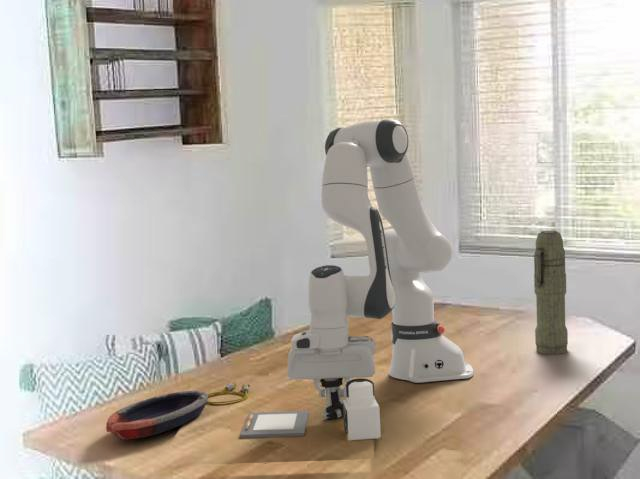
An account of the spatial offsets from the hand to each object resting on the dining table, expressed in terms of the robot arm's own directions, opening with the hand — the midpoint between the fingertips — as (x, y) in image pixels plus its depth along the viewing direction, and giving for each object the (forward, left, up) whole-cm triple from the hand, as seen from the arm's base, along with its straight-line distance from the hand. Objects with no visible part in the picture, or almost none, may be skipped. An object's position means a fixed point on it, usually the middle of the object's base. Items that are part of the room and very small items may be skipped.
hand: (332, 396), depth 206 cm
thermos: (-61, -54, -5) cm, 82 cm away
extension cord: (+27, -21, -6) cm, 35 cm away
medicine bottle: (-7, +12, -5) cm, 15 cm away
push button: (0, 0, -5) cm, 5 cm away
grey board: (+13, +4, -5) cm, 15 cm away
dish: (+41, 0, -6) cm, 41 cm away
